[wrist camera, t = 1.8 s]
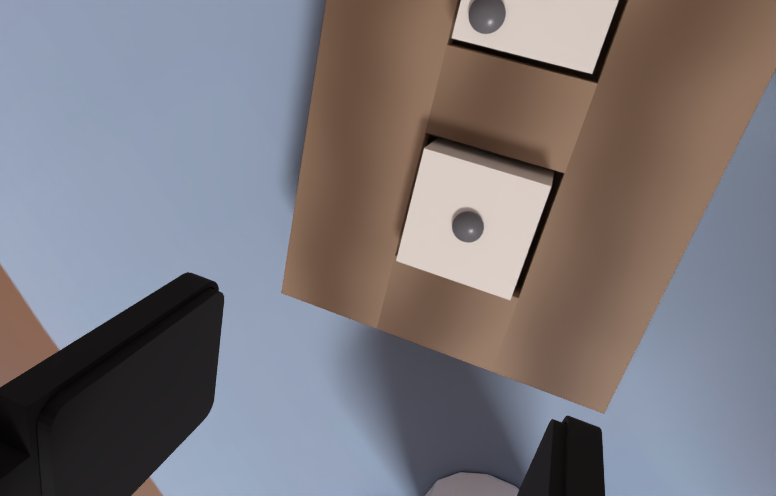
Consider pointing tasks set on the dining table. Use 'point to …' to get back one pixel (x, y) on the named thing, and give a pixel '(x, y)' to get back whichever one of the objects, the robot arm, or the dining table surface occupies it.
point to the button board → (533, 145)
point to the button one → (473, 215)
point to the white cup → (472, 486)
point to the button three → (539, 28)
